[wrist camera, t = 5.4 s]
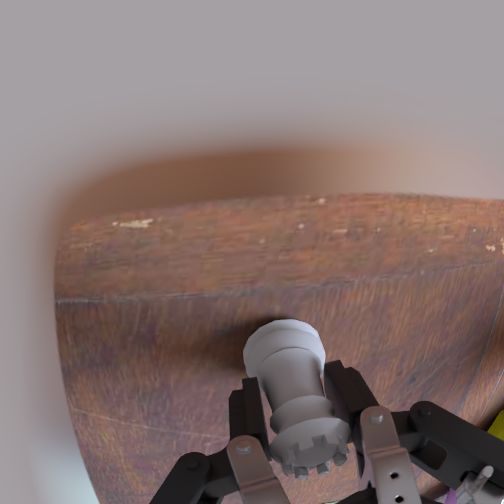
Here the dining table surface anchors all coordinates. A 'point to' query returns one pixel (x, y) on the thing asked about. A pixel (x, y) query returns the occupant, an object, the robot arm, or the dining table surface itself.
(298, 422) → the rook chess piece
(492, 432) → the plumb bob
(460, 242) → the dining table surface
